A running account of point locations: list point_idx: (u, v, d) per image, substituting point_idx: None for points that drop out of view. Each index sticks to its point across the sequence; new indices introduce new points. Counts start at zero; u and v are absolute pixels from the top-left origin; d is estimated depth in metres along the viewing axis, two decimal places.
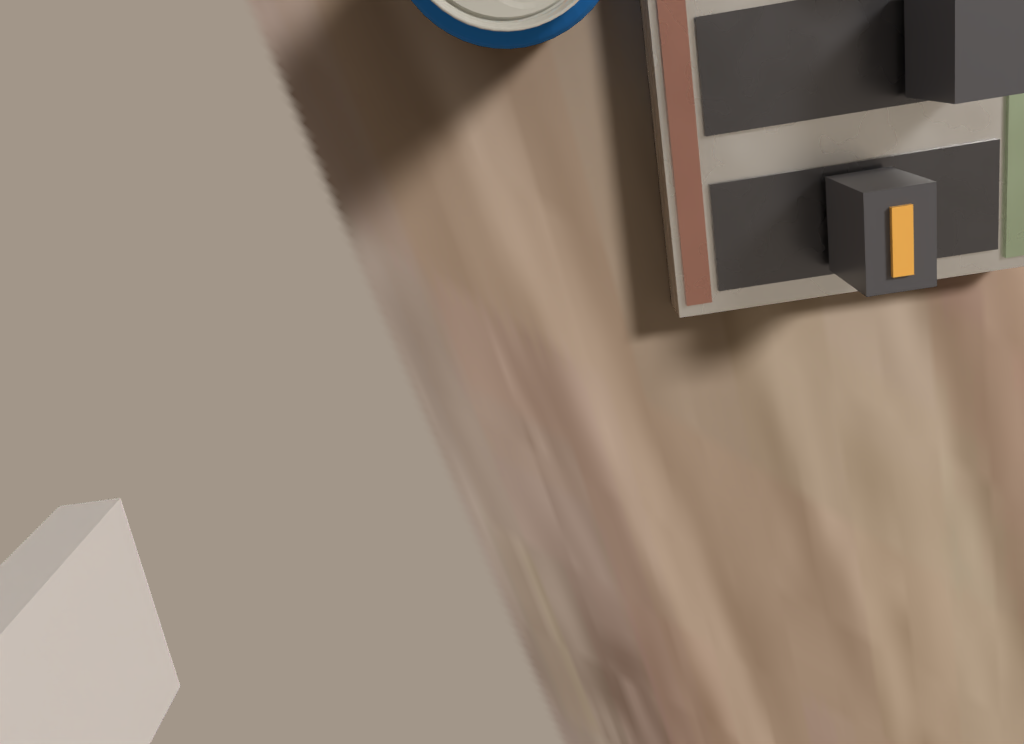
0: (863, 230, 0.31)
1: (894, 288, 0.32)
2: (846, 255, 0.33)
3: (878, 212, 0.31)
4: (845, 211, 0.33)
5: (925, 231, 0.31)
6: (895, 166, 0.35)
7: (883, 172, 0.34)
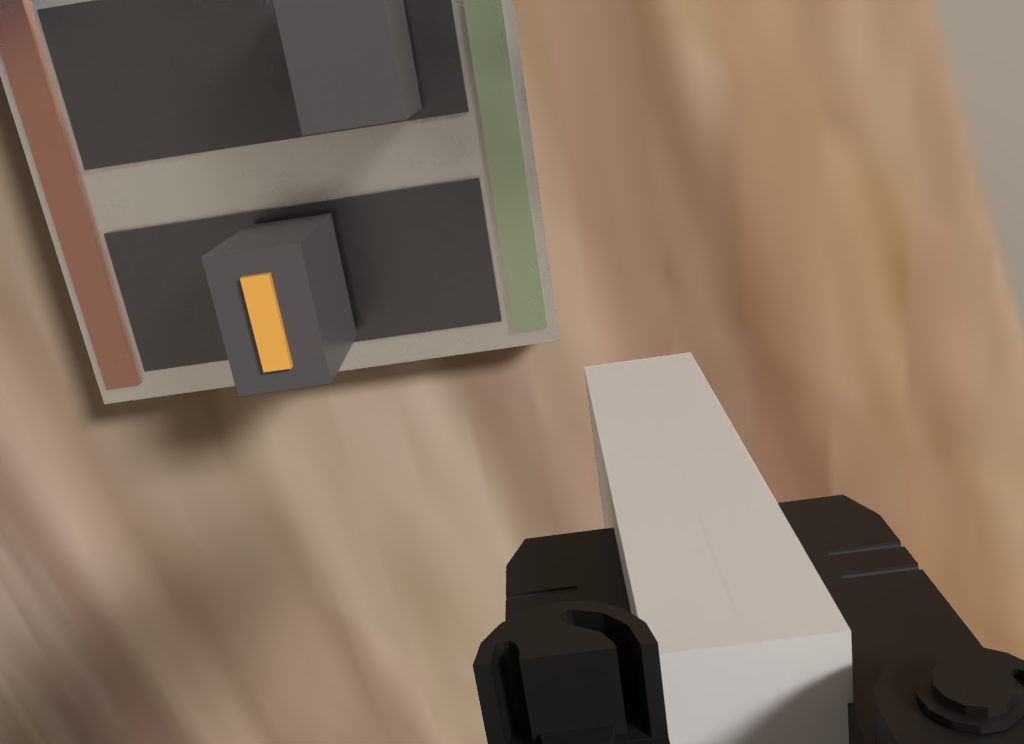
0: (215, 307, 0.23)
1: (274, 385, 0.23)
2: None
3: (228, 284, 0.22)
4: None
5: (299, 310, 0.23)
6: (346, 212, 0.26)
7: (301, 222, 0.25)
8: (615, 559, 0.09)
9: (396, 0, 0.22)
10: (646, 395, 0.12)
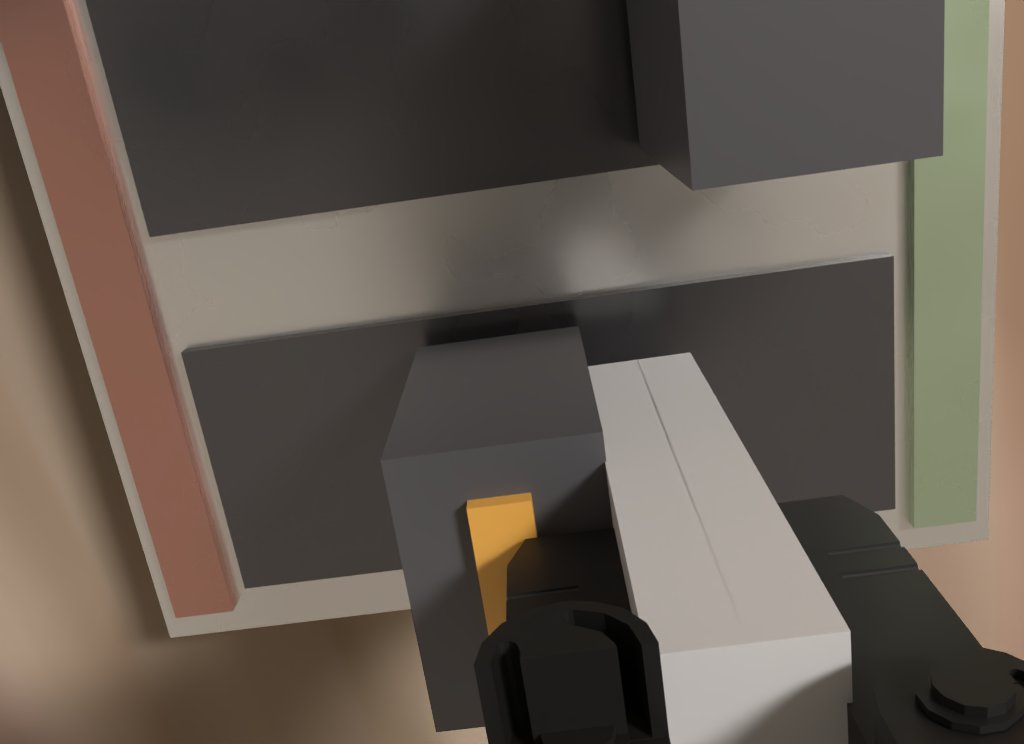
0: (402, 560, 0.10)
1: None
2: None
3: (435, 517, 0.10)
4: None
5: None
6: (635, 317, 0.14)
7: (537, 352, 0.13)
8: (615, 559, 0.09)
9: None
10: (646, 395, 0.12)
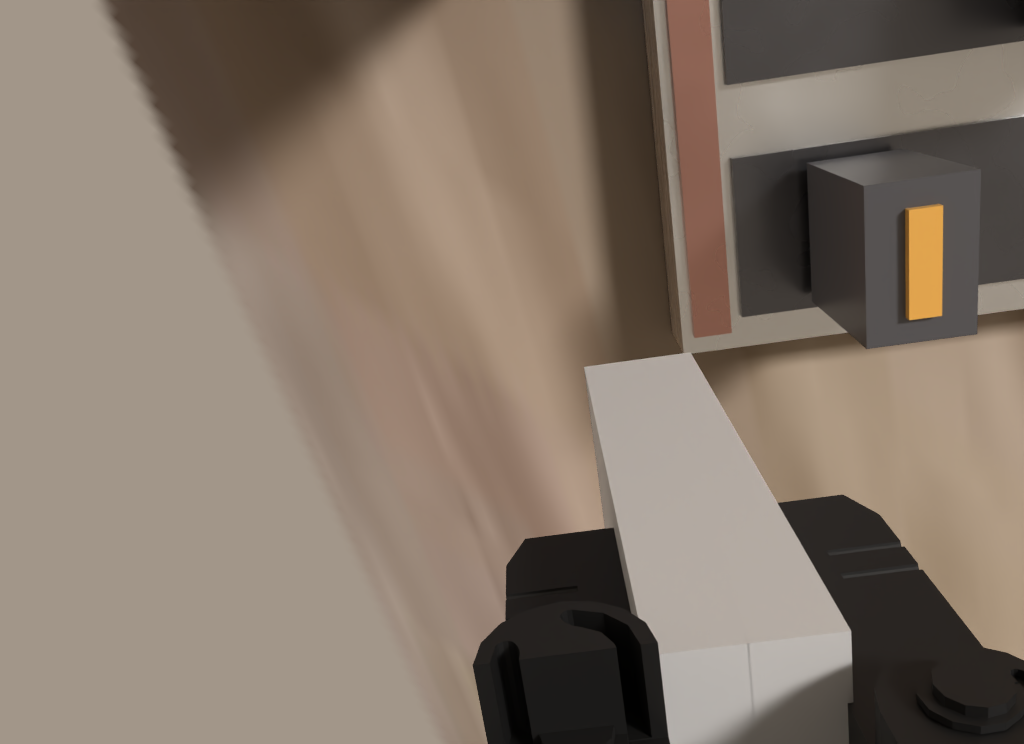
0: (863, 245, 0.20)
1: (910, 336, 0.20)
2: (836, 282, 0.22)
3: (887, 218, 0.19)
4: (835, 214, 0.21)
5: (960, 249, 0.20)
6: (1010, 134, 0.23)
7: (894, 156, 0.22)
8: (615, 559, 0.09)
9: None
10: (646, 395, 0.12)
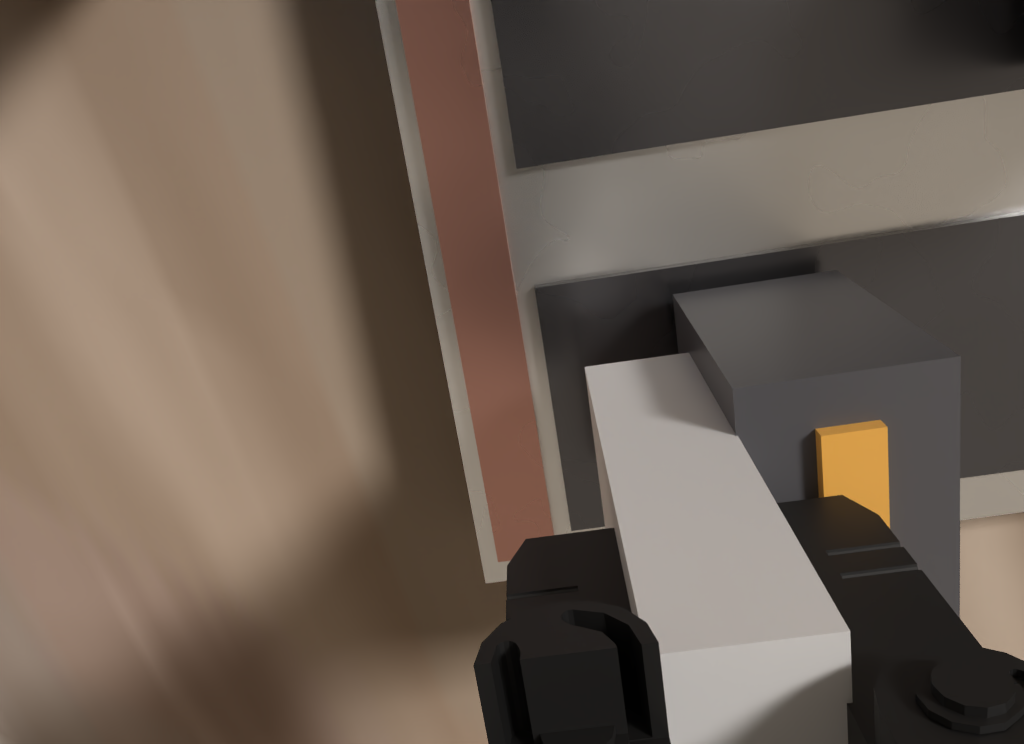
0: None
1: None
2: None
3: (780, 446, 0.10)
4: None
5: (925, 499, 0.10)
6: (999, 245, 0.14)
7: (814, 292, 0.13)
8: (615, 559, 0.09)
9: None
10: (645, 395, 0.12)
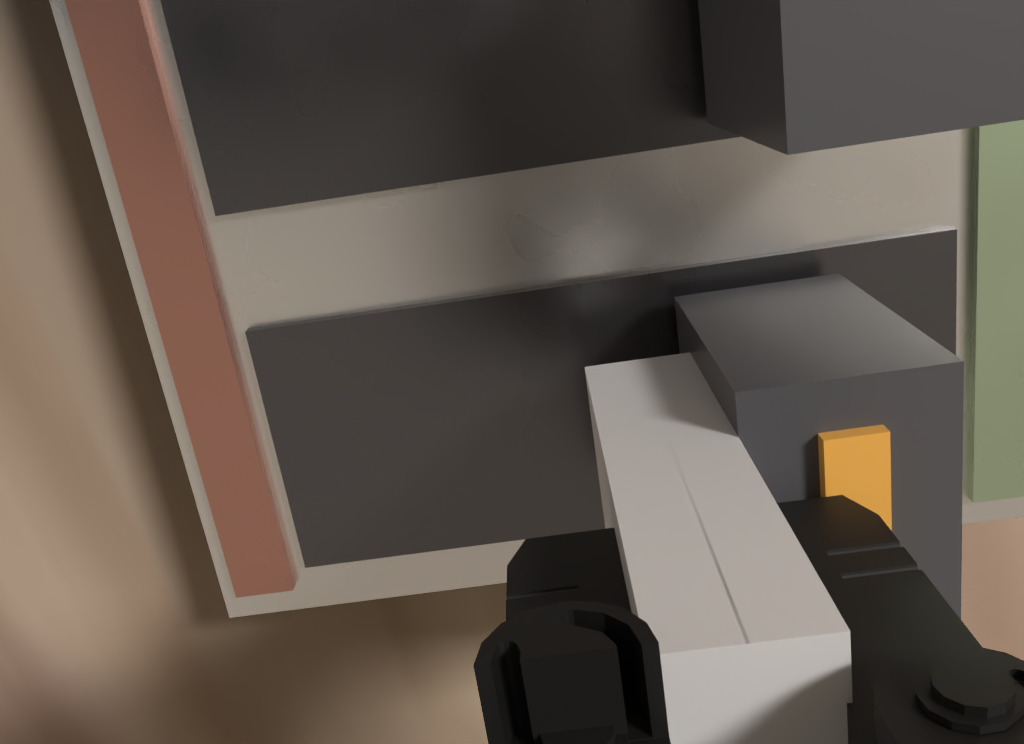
0: None
1: None
2: None
3: (783, 450, 0.10)
4: None
5: (927, 504, 0.10)
6: (698, 292, 0.14)
7: (816, 296, 0.13)
8: (615, 559, 0.09)
9: None
10: (645, 395, 0.12)
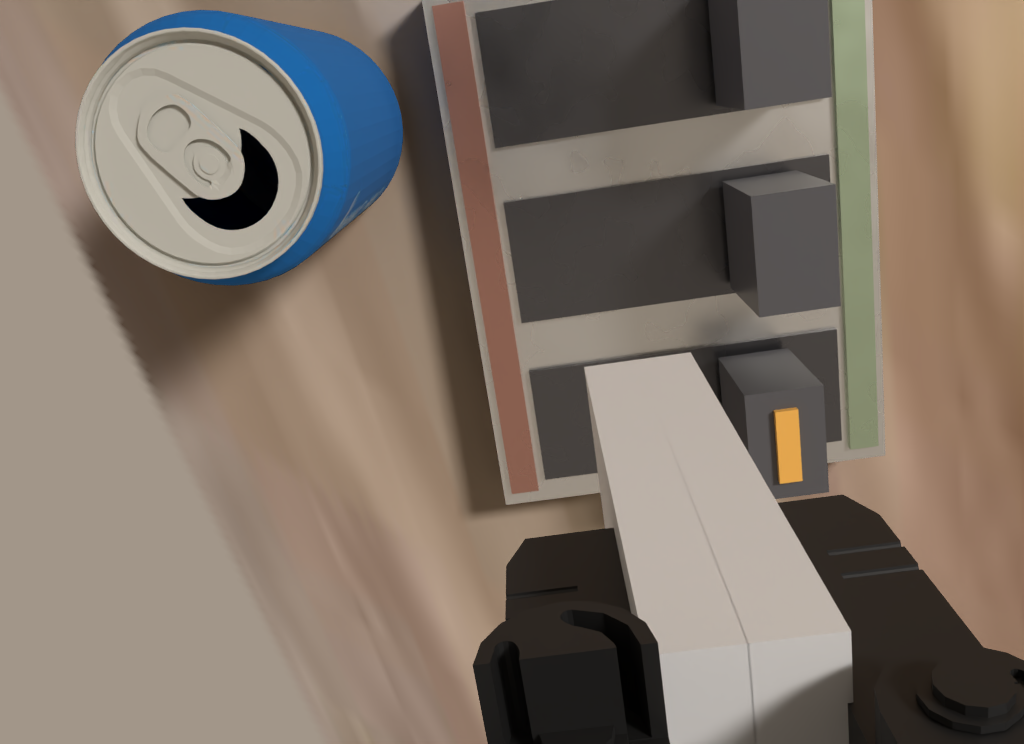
0: (746, 433, 0.29)
1: (782, 493, 0.29)
2: None
3: (761, 416, 0.29)
4: (733, 403, 0.30)
5: (813, 436, 0.29)
6: (726, 355, 0.33)
7: (777, 358, 0.31)
8: (615, 559, 0.09)
9: None
10: (646, 395, 0.12)
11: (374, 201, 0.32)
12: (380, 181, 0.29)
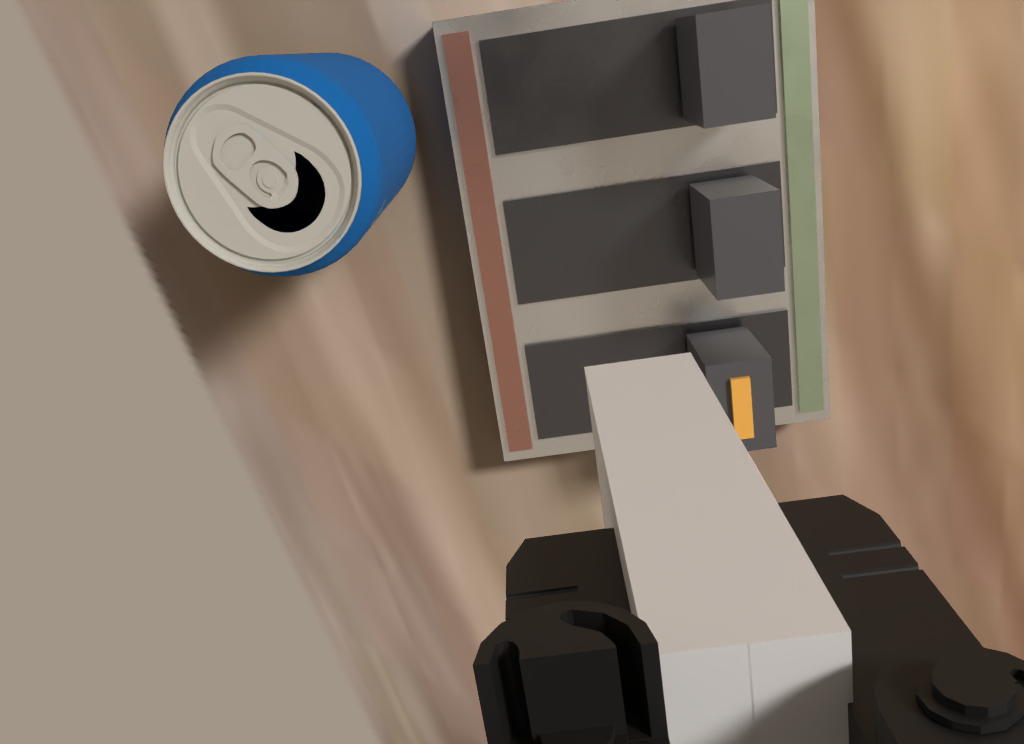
0: None
1: None
2: None
3: (719, 383, 0.34)
4: None
5: (763, 400, 0.34)
6: (693, 332, 0.38)
7: (735, 335, 0.37)
8: (615, 559, 0.09)
9: None
10: (646, 395, 0.12)
11: None
12: (399, 185, 0.34)
